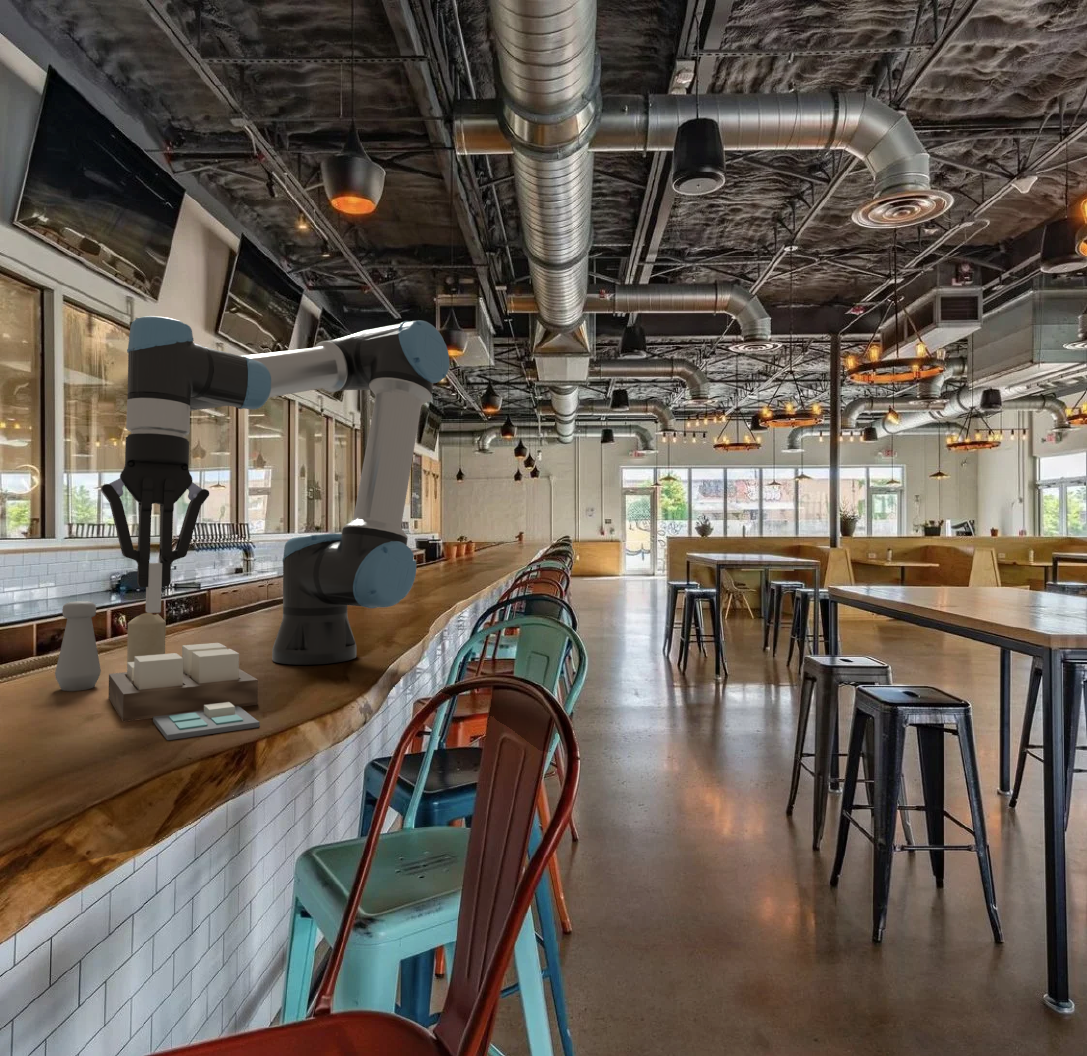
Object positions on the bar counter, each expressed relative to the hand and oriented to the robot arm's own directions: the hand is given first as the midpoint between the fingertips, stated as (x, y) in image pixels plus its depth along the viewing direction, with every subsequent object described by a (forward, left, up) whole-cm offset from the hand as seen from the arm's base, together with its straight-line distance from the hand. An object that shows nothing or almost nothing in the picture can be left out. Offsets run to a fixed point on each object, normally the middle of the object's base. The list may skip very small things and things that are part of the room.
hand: (153, 611), depth 95 cm
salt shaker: (+7, -20, -13) cm, 25 cm away
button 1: (-1, -6, -12) cm, 13 cm away
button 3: (-8, +1, -10) cm, 12 cm away
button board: (-4, -2, -13) cm, 14 cm away
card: (-4, +13, -13) cm, 18 cm away
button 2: (-1, +1, -10) cm, 10 cm away
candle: (-3, -27, -13) cm, 31 cm away
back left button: (-8, -6, -10) cm, 14 cm away
